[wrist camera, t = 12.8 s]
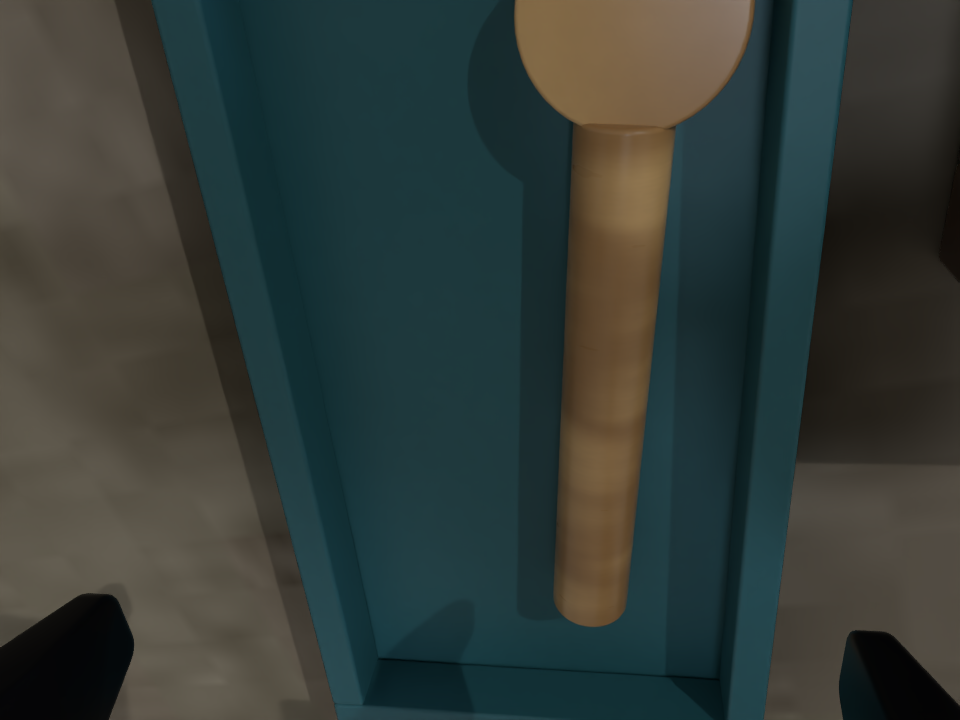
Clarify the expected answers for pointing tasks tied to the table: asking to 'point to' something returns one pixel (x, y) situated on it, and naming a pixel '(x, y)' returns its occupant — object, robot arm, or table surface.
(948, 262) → the slotted brown holder
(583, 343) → the tan round-headed peg
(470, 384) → the tray
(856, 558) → the table surface
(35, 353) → the table surface
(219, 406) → the table surface
